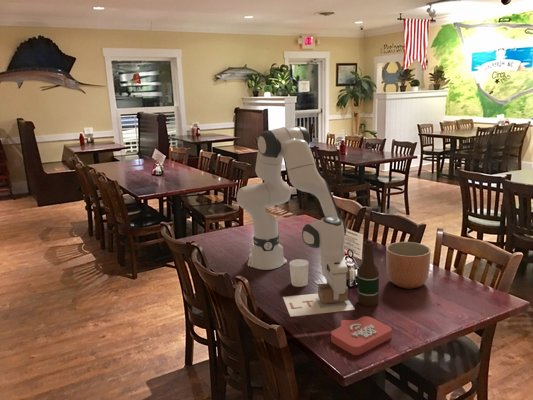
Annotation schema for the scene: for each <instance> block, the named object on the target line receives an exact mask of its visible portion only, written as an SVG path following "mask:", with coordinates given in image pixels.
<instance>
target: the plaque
mask: <svg viewBox="0 0 533 400" xmlns="http://www.w3.org/2000/svg"><path fill="white" fill-rule="evenodd" d="M392 329H393V328H392V327H390V326H389V325H387V324H385V323H383V322H381V321H379V320H377V319H375V318H373V317H371V316H367V315H366V316H361V317H359V318H357V319H353V320H352V319H350V320H349V319H342V320H341V321H340V326H339V327H337V328H335V329H333V330H331V332H330V342H331V343H333V344H334V345H335V346H337V347H339V348H341V349H342V350H344V351H346V352H347V353H349V354H350V353H351V355H353V356H360V355H362V354H363V353H365V352H367V351H369V350H372V349H373V348H376V347H377V346H379V345H381V344H383V343H385V342H387V341H389V340H390V339H392V336H393V335H392V334H393V333H392V332H393V330H392Z"/></svg>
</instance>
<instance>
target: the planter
mask: <svg viewBox="0 0 533 400" xmlns="http://www.w3.org/2000/svg"><path fill="white" fill-rule="evenodd" d="M385 249H386V250H385V255H386V258H385V263H386V274H387V278H388V280H389V281H390V282H391V283H392V284H393V285H394V286H397V287H398V288H400V289H401V288H402V289H409V290H412V289H417V288H420V287H421V286H423V285H424V284H426V282H427V280H428V278H429V274H430V266H431V252H432V251H431V249H430V247H429V246H427V245H424V244H422V243H418V242H412V241H398V242H393V243H390V244H388V245H387V246H386V248H385Z"/></svg>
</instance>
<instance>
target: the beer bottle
mask: <svg viewBox="0 0 533 400" xmlns="http://www.w3.org/2000/svg"><path fill="white" fill-rule="evenodd" d="M362 255H363V257H362V262H361V263H360V265H359V267H358V269H357V301H358V303H359V305H360V306H363V307H375V306H377V305H378V304H379V297H380V296H379V295H380V292H379V291H380V289H379V287H380V284H379V283H380V276H379V275H380V274H379V269H378V267H377V265H376V264H375V260H374V242H373V241H370V240H367V241H364V242H363V254H362Z"/></svg>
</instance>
